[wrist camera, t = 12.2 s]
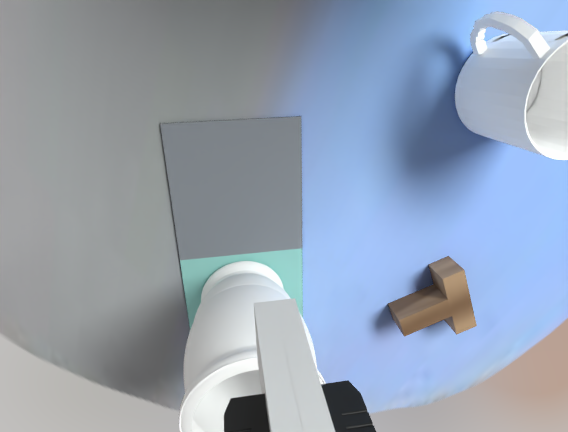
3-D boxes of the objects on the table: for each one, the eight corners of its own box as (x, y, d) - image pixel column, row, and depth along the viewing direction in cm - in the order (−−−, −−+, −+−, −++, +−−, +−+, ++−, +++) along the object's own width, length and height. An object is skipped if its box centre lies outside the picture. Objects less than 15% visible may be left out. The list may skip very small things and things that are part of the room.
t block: (381, 284, 44) (392, 300, 41) (448, 255, 44) (464, 269, 41) (398, 336, 47) (410, 354, 44) (461, 309, 47) (476, 325, 44)
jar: (248, 229, 38) (267, 330, 24) (312, 294, 42) (359, 411, 29) (168, 296, 40) (143, 426, 26) (237, 352, 44) (247, 491, 30)
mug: (553, 101, 38) (649, 116, 30) (471, 153, 39) (543, 182, 31) (518, -22, 34) (621, -46, 25) (425, 40, 34) (495, 38, 26)
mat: (160, 123, 33) (160, 123, 33) (300, 116, 35) (301, 116, 35) (195, 363, 43) (195, 364, 43) (302, 349, 45) (302, 350, 45)
